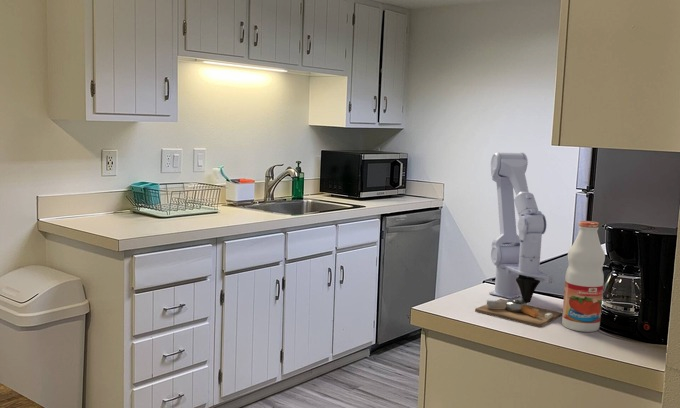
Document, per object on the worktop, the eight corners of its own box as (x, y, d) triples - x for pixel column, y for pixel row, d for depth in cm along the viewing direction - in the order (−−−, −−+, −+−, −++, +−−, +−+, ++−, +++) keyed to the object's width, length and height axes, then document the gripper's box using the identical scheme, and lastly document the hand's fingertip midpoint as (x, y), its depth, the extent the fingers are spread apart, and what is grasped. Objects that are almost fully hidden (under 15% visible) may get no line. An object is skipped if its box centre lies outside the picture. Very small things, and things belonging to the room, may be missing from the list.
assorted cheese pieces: (484, 307, 184) (485, 298, 184) (524, 302, 191) (524, 294, 191) (515, 320, 173) (515, 311, 173) (556, 314, 180) (556, 305, 179)
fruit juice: (590, 321, 178) (599, 219, 174) (605, 333, 168) (615, 225, 165) (556, 321, 177) (564, 218, 174) (569, 332, 168) (578, 224, 164)
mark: (548, 316, 179) (548, 312, 178) (552, 317, 178) (552, 313, 178) (544, 318, 177) (544, 314, 177) (548, 319, 176) (548, 315, 176)
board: (500, 301, 195) (500, 298, 195) (562, 315, 182) (562, 312, 182) (475, 311, 184) (475, 308, 184) (539, 327, 171) (539, 324, 171)
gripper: (560, 259, 183) (556, 306, 185) (517, 250, 195) (514, 294, 196) (545, 261, 179) (541, 310, 181) (502, 252, 190) (499, 297, 192)
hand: (526, 302), depth 188 cm, fingers closed, pressing on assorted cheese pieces
